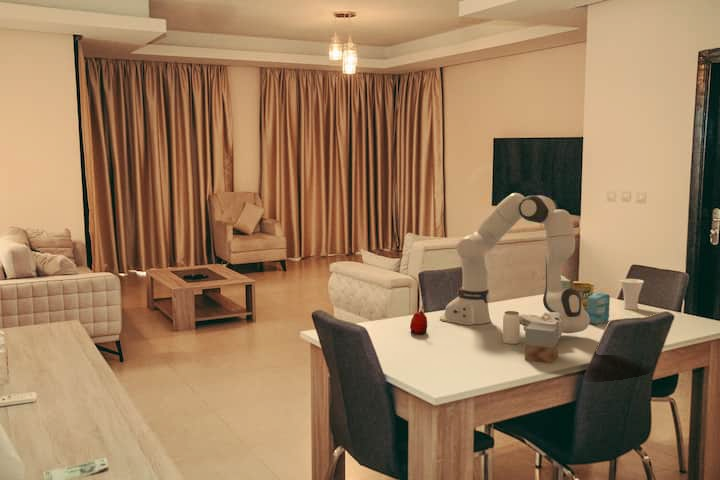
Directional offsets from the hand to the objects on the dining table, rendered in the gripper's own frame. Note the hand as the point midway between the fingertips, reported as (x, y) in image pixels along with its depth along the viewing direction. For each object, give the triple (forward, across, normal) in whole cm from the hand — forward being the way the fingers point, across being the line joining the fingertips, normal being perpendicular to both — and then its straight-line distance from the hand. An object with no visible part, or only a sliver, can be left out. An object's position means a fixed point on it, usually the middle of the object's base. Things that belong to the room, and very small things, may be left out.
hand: (518, 325), depth 278 cm
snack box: (-46, -50, +7) cm, 68 cm away
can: (+3, 0, +7) cm, 7 cm away
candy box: (-48, -32, +7) cm, 59 cm away
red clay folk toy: (+34, -22, +7) cm, 41 cm away
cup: (-78, -38, +7) cm, 87 cm away
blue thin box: (-48, -20, +7) cm, 52 cm away
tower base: (+2, +22, +7) cm, 23 cm away
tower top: (+2, +22, +1) cm, 22 cm away
